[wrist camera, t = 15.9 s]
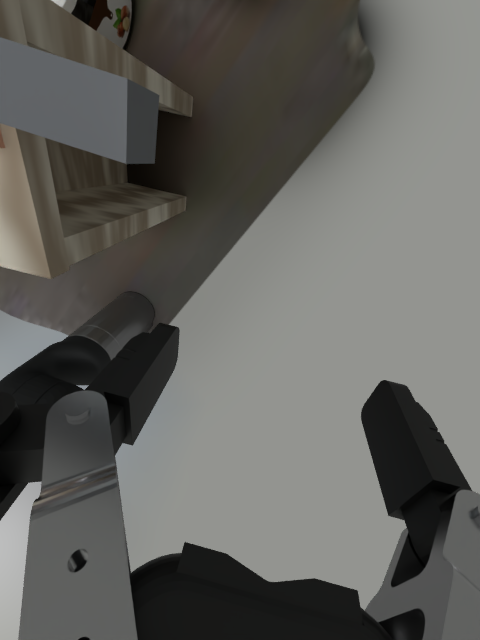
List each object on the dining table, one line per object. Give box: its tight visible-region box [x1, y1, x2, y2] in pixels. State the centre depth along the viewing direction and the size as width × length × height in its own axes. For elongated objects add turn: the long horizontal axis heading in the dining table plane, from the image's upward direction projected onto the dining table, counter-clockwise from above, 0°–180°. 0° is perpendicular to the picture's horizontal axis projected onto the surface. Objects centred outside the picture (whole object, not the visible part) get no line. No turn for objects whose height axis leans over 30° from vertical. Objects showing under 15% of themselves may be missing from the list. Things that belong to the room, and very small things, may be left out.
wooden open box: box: [0, 0, 193, 279], centre depth 28 cm, size 13×16×34 cm
